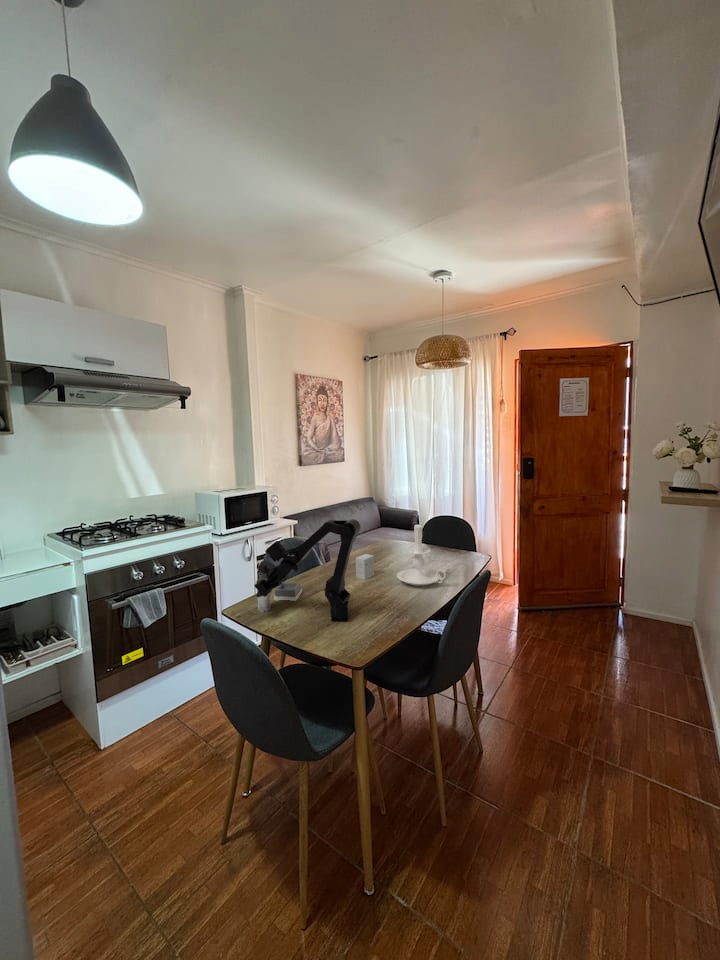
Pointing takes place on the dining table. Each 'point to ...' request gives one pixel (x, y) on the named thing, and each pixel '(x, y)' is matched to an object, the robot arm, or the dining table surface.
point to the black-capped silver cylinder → (263, 601)
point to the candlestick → (419, 565)
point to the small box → (365, 566)
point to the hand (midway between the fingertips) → (260, 593)
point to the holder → (288, 591)
